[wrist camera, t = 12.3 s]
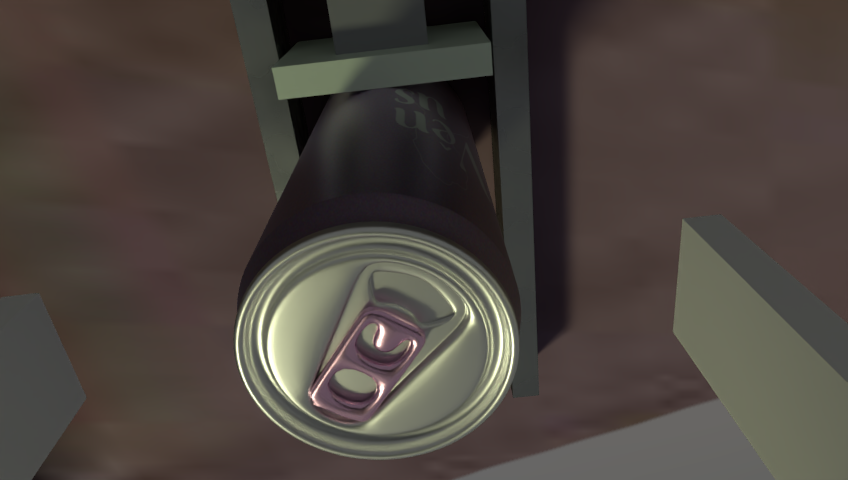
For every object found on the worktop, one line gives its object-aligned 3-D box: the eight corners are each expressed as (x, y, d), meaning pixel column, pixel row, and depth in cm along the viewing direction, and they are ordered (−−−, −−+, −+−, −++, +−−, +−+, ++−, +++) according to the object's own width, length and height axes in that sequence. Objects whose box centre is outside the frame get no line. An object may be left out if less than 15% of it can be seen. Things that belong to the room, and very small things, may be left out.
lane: (334, 381, 31) (318, 474, 26) (213, -160, 21) (144, -191, 15) (529, 361, 31) (554, 452, 25) (506, -198, 20) (541, -242, 15)
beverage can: (297, 155, 26) (175, 399, 12) (366, 27, 24) (307, 156, 10) (419, 221, 27) (428, 503, 14) (495, 106, 25) (593, 311, 12)
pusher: (303, 68, 24) (278, 99, 19) (284, -27, 22) (253, -16, 18) (477, 47, 24) (493, 75, 19) (470, -50, 22) (485, -44, 18)
